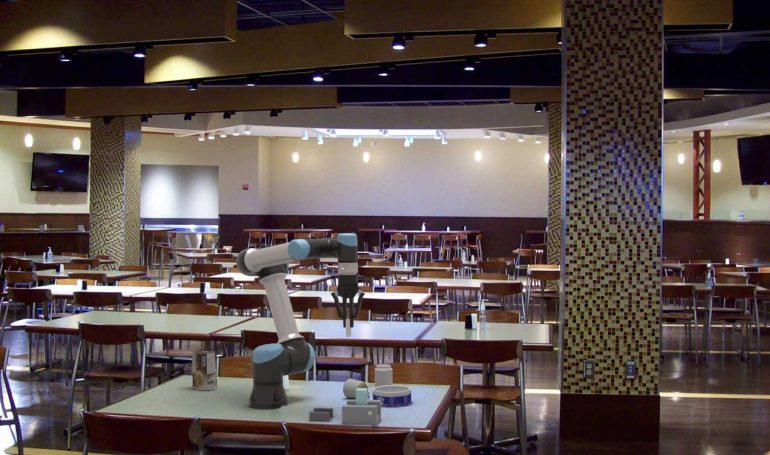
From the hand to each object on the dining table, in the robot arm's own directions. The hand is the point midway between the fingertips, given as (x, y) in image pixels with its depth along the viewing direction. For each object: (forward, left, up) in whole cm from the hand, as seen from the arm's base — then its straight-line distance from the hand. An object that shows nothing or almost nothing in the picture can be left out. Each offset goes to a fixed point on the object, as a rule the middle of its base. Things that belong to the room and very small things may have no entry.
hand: (348, 336), depth 320 cm
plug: (+8, -18, -28) cm, 35 cm away
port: (+8, -18, -28) cm, 35 cm away
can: (+8, +34, -29) cm, 45 cm away
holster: (-7, -17, -28) cm, 34 cm away
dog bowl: (+14, +16, -29) cm, 36 cm away
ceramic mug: (-1, +25, -29) cm, 38 cm away
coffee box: (-71, +37, -29) cm, 85 cm away
